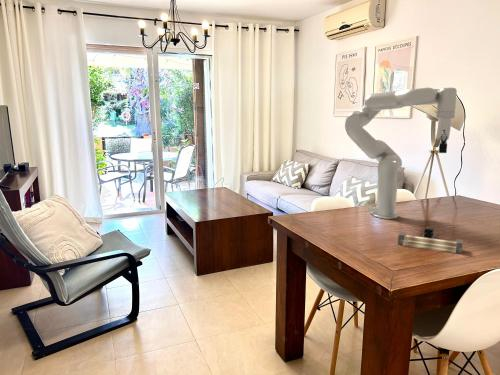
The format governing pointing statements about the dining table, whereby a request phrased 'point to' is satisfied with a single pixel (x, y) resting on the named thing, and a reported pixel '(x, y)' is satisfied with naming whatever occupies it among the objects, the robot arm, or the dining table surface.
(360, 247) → the dining table surface
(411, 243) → the striped bar with caps
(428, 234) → the black block
